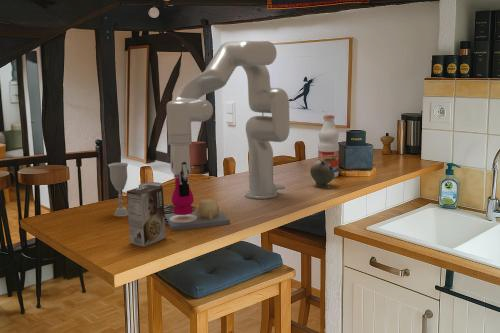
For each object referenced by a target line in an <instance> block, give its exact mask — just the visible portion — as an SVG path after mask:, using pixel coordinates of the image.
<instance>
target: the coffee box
mask: <svg viewBox="0 0 500 333" xmlns="http://www.w3.org/2000/svg"><path fill="white" fill-rule="evenodd" d="M126 200H127V212H128V215H127V216H128V227H129V228H128V229H129V241H130V242H129V243H130V244H131V245H136V246H138V247H139V246H140V247H144V248H146V247H148V246H151V245H153V244H155V243H157V242H159V241H160V242H161V241H163V240H164V239H166V238H167V234H166V232H167V231H166V220H165V215H166V214H165V204H164V203H165V202H164V187H163V186H162V187H158V186H154V185H146V186H142V187H139V186H138V187H135V188H132V189H129V190H126Z"/></svg>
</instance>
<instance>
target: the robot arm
mask: <svg viewBox="0 0 500 333" xmlns="http://www.w3.org/2000/svg"><path fill="white" fill-rule="evenodd" d="M277 55H278V54H277V48H276V45H275V44H274V43H273V42H271V41H269V40H261V41H260V40H259V41H258V40H256V41H255V40H254V41H252V40H239V41H238V40H235V41H227V42H224V43H222V44H221V45H220V46H219V48H218V49H217V50H216V52H215V54H214V56H213V57H212V59H211V61H210V62H209V63H208V65H207V66H206V68H205V70H203V71H202V72H201V73H200V74H198V75H197V76H195V77H194V78H193V79H191V80H190V81H188V82H187V83H186V84H185V85H184V86H183V87H182V88H181V89H180V91H179V92H178V94H177V96H176V97H175V99H174V100H170V101H168V102H167V103H166V122H167V127H166V128H167V141H168V146H170V171H171V173H172V174H173V176H174V175H175V176H178V175H179V182H180V184H179V196H180V197H184V196H189V188H190V183H189V177H188V175H189V176H190V175H191V157H190V156H191V153H190V145H192V143H193V138H192V122H193V123H194V122H199V123H200V122H201V123H203V122H206V121H209V119H211V118H212V116H213V113H214V108H213V105H212V103H211V102H210V100H207V99H205V98H201V97H203V96H205V95H207V94H209V93H212V92H215V91H217V90H220V89H222V88H224V87H225V86H226V85H227V82H229V80H230V77H231V76H232V75H233V73H234V71H235V70H236V68H237V67H241V68H243V70H244V72H245V74H246V76H247V77H246V78H247V90H248V92H247V94H248V95H247V96H248V106H249V108H250V110H251V111H252V112H254V113H261V114H271V116H270V115H269V116H268V115H255V116H251V117H250V118H249V119H248V120H247V121H246V124H245V134H246V137H247V139H246V140H247V144H248V145H247V146H248V170H249V171H248V172H249V176H248V177H249V178H248V179H249V180H248V182H249V190H247V191H246V192H245V196H246V197H247V198H250V199H254V200H257V199H258V200H265V199H266V200H267V199H273V198H275V197H277V196H278V190H285V189H286V185H285V184H279V183H278V184H276V183H274V150H273V146H272V145H271V143H270V142H273V143H274V142H275V143H282V142H285V141H286V140H287V139H288V137H289V136H290V130H291V129H290V128H291V127H290V126H291V125H290V124H291V123H290V101H289V100H290V99H289V96H288V93H287V92H286V90H284V88H280V87H272V86H271V77H270V71H269V69H268V68H267V66H269V65H271V64H273V63H274V62H275V60H276V58H277ZM172 163H173V169H172ZM187 170H188V171H187ZM180 173H183V175H181V174H180ZM181 177H182V179H181ZM174 181H175V182H174V184H175V185H176V180H175V179H174Z"/></svg>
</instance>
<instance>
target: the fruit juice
mask: <svg viewBox="0 0 500 333" xmlns="http://www.w3.org/2000/svg"><path fill="white" fill-rule="evenodd" d="M339 136H340V134H339V131H338V129H337V127H336V124H335V115H334V114H333V115H332V114H326V115H323V124H322V127H321V129H320V130H319V132H318V139H319V141H318V150H317V152H318V153H317V154H318V155H317V161H319V159H320V160H321V161H327V162H329V164H330V165H331V166H332V168H333V169H332V170H331V171H332V172H333V173H334V174H335V175H334V178H337V177H339V167H340V166H339V164H340V160H339V159H340V157H339V156H340V145H339V142H338V141H339V138H340V137H339Z"/></svg>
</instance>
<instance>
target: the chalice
mask: <svg viewBox="0 0 500 333" xmlns="http://www.w3.org/2000/svg"><path fill="white" fill-rule="evenodd" d="M128 165H129V163H127V162H112V163H110V164H109V163H108V164H107V166H108V168H109V178H110V181H111V184H112V186H113V187H114V189H115V191H118V195H117V197H118V201H117V202H118V203H119V206H118V207H117V208H116V209H115V212H114V214H113V216H114V217H126V216H128V209H127V208H126V207H125V206H123V202H124V200H123V199H122V197H123V195H122V191H124V189H125V186H126V184H127V181H128V168H127V167H128Z"/></svg>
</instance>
